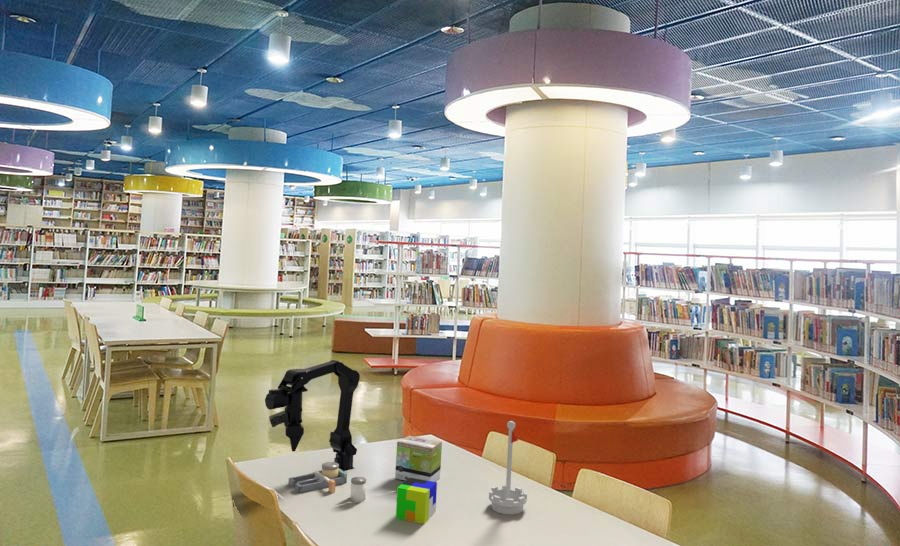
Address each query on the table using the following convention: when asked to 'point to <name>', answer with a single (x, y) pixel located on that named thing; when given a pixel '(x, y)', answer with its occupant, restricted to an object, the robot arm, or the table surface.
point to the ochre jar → (330, 470)
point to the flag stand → (508, 486)
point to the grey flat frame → (314, 482)
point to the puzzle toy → (416, 500)
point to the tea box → (418, 459)
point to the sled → (321, 477)
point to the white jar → (358, 489)
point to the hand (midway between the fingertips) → (292, 447)
